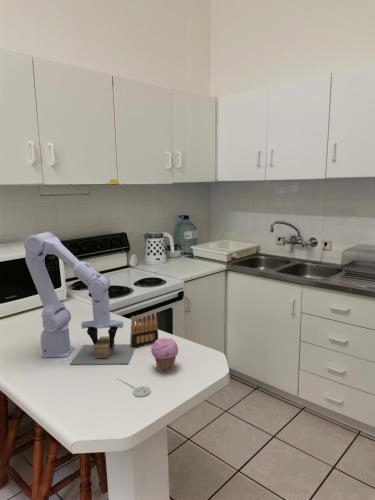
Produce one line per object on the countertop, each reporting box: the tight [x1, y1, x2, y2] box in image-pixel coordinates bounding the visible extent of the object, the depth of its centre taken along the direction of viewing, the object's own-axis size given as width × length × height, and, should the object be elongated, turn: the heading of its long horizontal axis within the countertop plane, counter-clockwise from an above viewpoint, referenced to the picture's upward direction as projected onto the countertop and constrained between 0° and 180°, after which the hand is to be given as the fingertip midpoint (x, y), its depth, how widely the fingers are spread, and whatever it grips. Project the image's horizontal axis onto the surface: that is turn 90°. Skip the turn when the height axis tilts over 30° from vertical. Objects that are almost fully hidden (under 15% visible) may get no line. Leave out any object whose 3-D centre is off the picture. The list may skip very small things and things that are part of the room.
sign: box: [116, 377, 152, 398], centre depth 113 cm, size 5×1×15 cm
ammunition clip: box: [129, 311, 159, 348], centre depth 140 cm, size 11×2×12 cm, turn 119°
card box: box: [93, 335, 115, 358], centre depth 134 cm, size 9×5×4 cm, turn 177°
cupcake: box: [150, 337, 179, 372], centre depth 122 cm, size 9×9×10 cm
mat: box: [69, 343, 136, 366], centre depth 134 cm, size 20×15×1 cm
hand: (104, 346), depth 133 cm, fingers closed on card box, 5 cm apart
